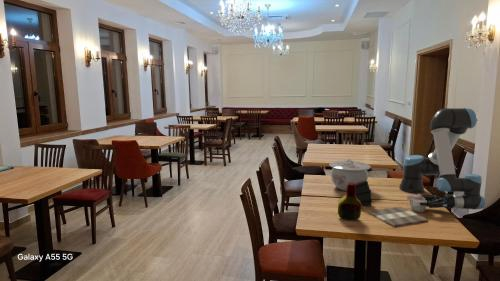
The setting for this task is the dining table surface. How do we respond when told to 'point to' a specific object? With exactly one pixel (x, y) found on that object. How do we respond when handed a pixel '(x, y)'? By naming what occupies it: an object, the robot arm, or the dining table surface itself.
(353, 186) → the bottle
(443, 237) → the dining table surface
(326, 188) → the dining table surface
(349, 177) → the chamber pot
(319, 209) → the dining table surface
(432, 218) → the dining table surface
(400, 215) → the checkered cloth napkin
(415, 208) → the cupcake
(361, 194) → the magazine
